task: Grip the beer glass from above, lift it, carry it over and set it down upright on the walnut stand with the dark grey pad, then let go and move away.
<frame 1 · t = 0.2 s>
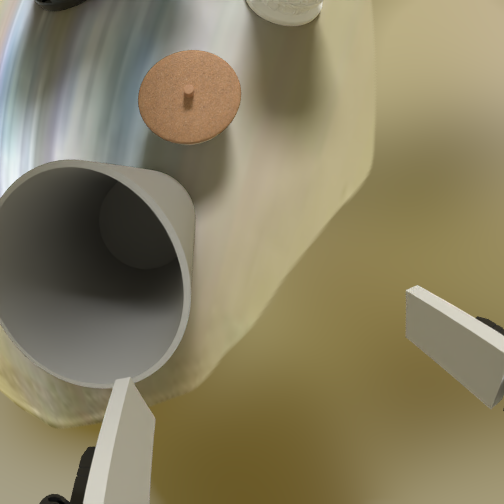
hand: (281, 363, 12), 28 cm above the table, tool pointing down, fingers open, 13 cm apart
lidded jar: (191, 110, 34), on the table
cylinder vase: (147, 218, 37), on the table
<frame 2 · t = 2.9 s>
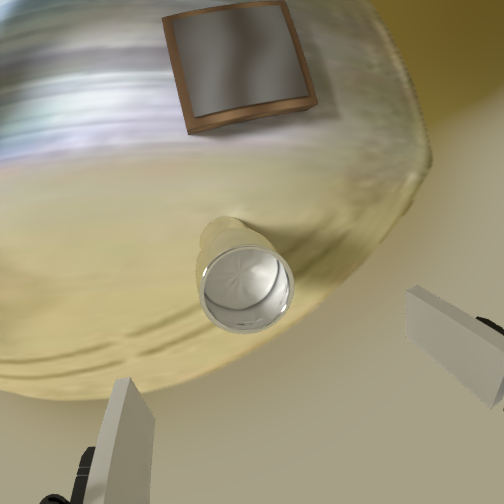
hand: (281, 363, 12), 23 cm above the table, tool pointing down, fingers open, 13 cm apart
beer glass: (225, 242, 34), on the table
walnut stand: (235, 65, 29), on the table
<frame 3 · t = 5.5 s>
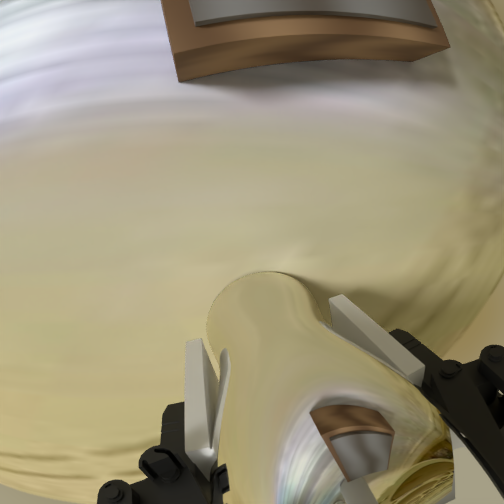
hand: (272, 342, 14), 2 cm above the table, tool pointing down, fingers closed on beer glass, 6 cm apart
beer glass: (262, 322, 16), on the table, touching gripper
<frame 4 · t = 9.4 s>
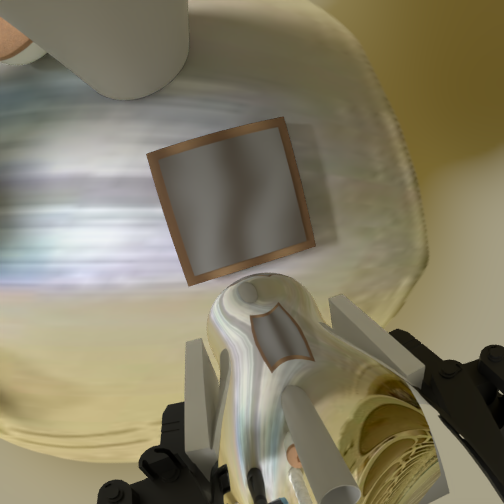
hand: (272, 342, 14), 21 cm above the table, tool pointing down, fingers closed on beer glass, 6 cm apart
beer glass: (262, 323, 16), point 19 cm above the table, touching gripper
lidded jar: (42, 39, 23), on the table
walnut stand: (231, 198, 32), on the table
cylinder vase: (136, 54, 27), on the table
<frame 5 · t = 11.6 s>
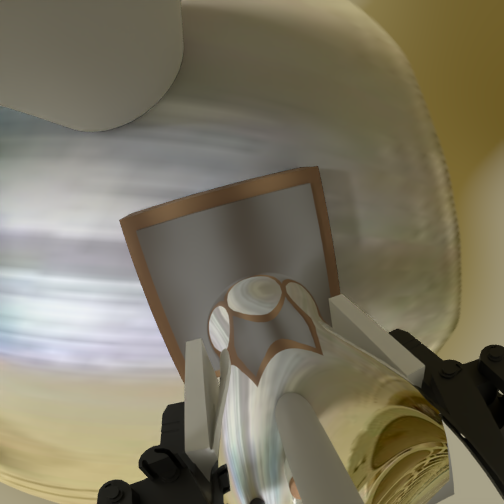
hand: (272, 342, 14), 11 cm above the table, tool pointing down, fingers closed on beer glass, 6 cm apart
beer glass: (262, 323, 16), point 9 cm above the table, touching gripper
walnut stand: (238, 271, 25), on the table
cylinder vase: (109, 63, 19), on the table
when the fingers open (7 cm above the table, at t = 13.2 s): beer glass drops 1 cm, resting on walnut stand.
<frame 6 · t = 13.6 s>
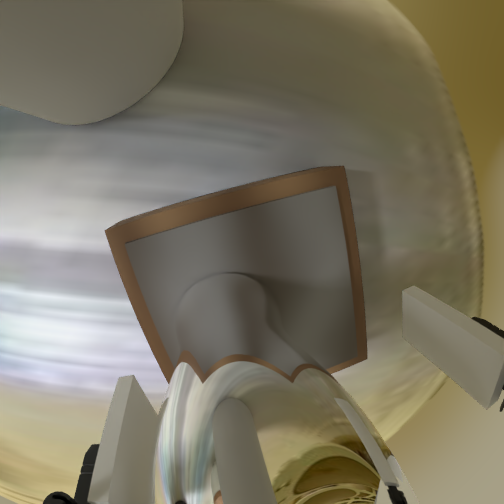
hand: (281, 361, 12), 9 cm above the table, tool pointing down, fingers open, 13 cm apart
beer glass: (227, 320, 17), point 4 cm above the table, touching walnut stand
walnut stand: (247, 288, 21), on the table
cylinder vase: (98, 46, 15), on the table
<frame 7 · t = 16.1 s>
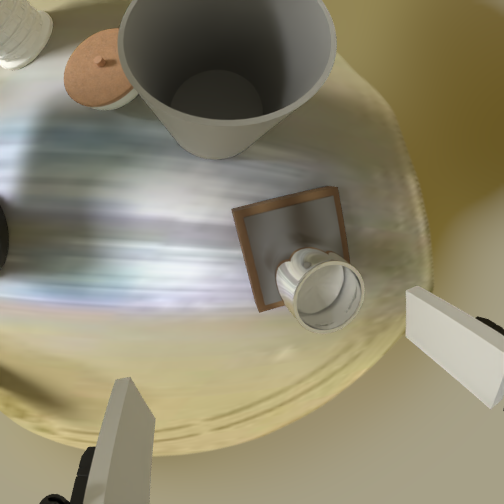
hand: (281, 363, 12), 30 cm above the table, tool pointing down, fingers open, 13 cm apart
beer glass: (285, 254, 39), point 4 cm above the table, touching walnut stand
decorative container: (26, 40, 28), on the table
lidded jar: (119, 83, 34), on the table
walnut stand: (291, 244, 42), on the table
cylinder vase: (215, 115, 37), on the table
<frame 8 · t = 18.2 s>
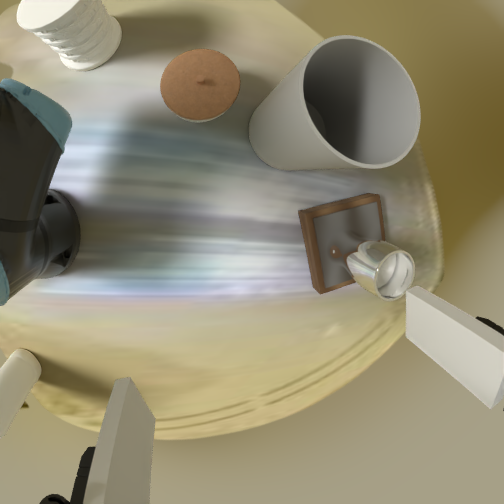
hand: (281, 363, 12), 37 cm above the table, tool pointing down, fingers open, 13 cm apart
beer glass: (342, 247, 48), point 4 cm above the table, touching walnut stand
bottle: (27, 362, 47), on the table
decorative container: (91, 43, 35), on the table
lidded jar: (199, 97, 42), on the table
walnut stand: (341, 239, 52), on the table
cylinder vase: (285, 133, 46), on the table
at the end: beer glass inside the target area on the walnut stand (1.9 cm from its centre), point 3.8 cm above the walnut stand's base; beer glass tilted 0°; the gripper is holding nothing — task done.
